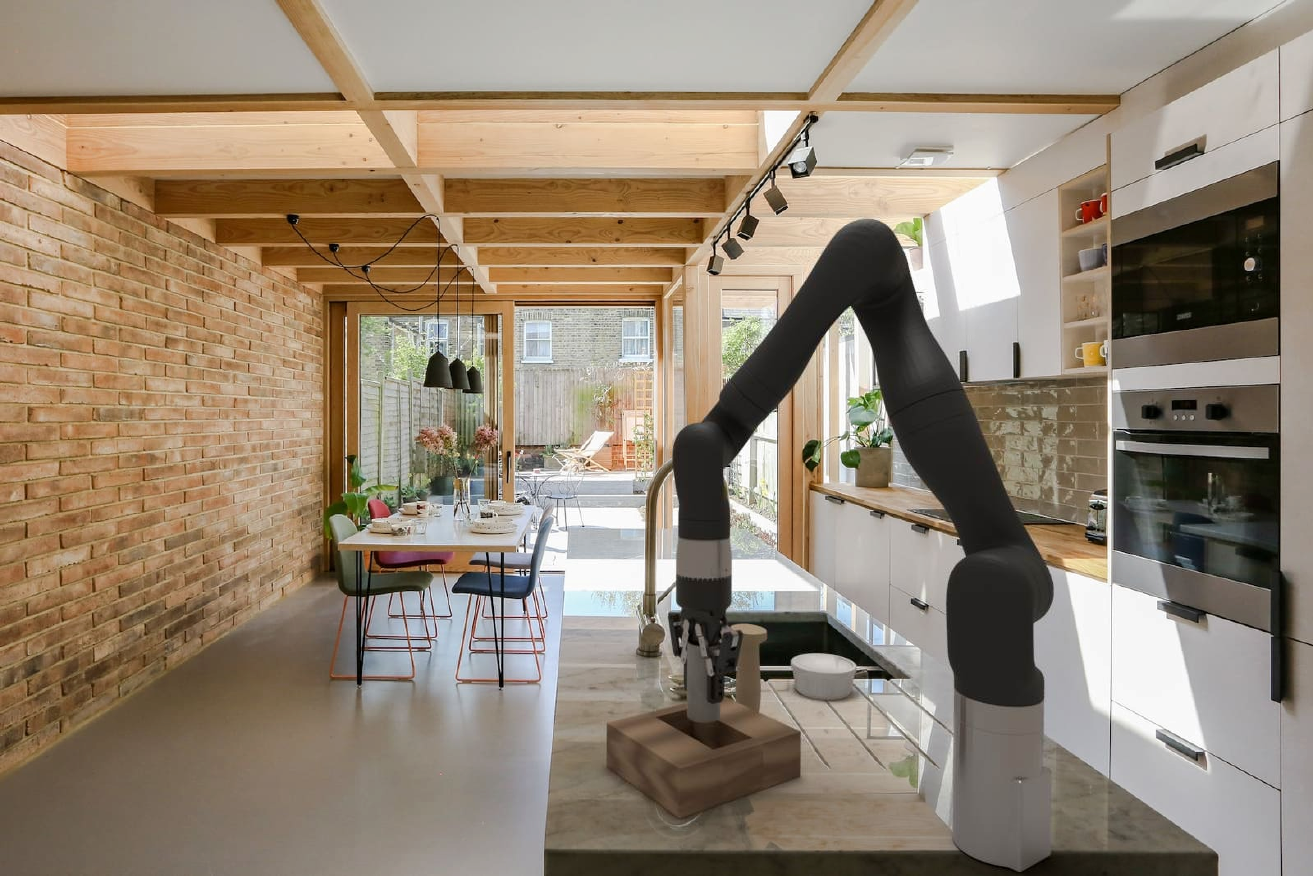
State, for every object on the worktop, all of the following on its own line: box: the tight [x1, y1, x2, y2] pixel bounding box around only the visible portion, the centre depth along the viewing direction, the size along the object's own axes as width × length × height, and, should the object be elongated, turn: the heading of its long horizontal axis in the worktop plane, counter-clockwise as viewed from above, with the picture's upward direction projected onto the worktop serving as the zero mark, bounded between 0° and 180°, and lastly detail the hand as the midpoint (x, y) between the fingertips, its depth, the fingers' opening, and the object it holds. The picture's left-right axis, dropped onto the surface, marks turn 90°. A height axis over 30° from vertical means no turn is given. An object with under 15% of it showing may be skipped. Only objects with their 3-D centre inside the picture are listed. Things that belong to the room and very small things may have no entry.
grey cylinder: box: [686, 640, 721, 723], centre depth 105 cm, size 4×4×10 cm
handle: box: [730, 623, 768, 713], centre depth 121 cm, size 5×6×15 cm
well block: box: [606, 695, 802, 819], centre depth 105 cm, size 17×20×6 cm
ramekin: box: [790, 652, 857, 701], centre depth 136 cm, size 11×11×5 cm
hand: (703, 695), depth 105 cm, fingers closed on grey cylinder, 4 cm apart
